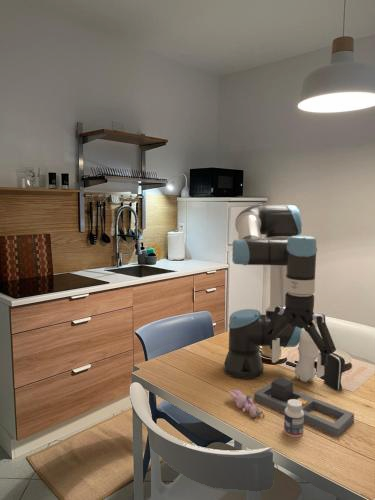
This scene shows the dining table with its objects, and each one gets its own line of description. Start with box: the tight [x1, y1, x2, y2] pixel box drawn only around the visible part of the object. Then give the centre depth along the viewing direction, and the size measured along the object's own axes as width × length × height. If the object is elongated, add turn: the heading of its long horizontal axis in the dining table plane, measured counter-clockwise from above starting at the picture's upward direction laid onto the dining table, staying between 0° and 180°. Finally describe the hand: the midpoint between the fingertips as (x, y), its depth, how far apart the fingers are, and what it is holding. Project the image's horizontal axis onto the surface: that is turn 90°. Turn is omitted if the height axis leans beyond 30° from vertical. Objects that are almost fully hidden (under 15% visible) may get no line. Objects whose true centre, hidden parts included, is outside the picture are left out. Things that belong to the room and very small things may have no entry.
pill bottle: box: [283, 399, 304, 438], centre depth 107 cm, size 5×5×9 cm
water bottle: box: [294, 313, 321, 383], centre depth 137 cm, size 7×7×25 cm
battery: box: [323, 352, 346, 391], centre depth 135 cm, size 7×4×11 cm, turn 20°
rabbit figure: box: [227, 389, 265, 422], centre depth 120 cm, size 6×6×15 cm
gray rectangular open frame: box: [253, 376, 355, 438], centre depth 119 cm, size 28×11×7 cm, turn 45°
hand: (296, 368), depth 106 cm, fingers open, 13 cm apart
